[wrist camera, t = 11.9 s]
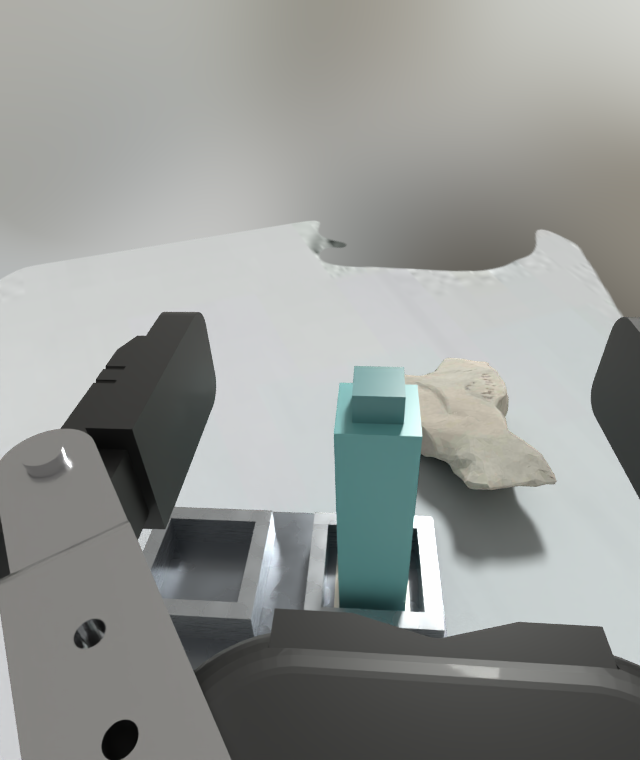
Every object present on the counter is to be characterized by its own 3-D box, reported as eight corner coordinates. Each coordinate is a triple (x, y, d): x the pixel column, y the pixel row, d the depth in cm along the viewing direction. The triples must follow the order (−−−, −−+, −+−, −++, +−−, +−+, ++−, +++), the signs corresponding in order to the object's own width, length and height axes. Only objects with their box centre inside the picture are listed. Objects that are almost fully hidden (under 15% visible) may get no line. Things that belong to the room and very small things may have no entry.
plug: (339, 614, 32) (332, 406, 23) (343, 559, 36) (339, 356, 26) (404, 619, 32) (425, 408, 22) (402, 563, 35) (419, 358, 26)
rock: (353, 521, 40) (556, 521, 38) (347, 476, 38) (563, 473, 36) (366, 380, 59) (503, 374, 56) (362, 344, 56) (506, 336, 54)
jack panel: (112, 677, 31) (94, 645, 29) (174, 518, 41) (164, 485, 39) (451, 700, 29) (458, 667, 27) (431, 528, 39) (435, 494, 37)
